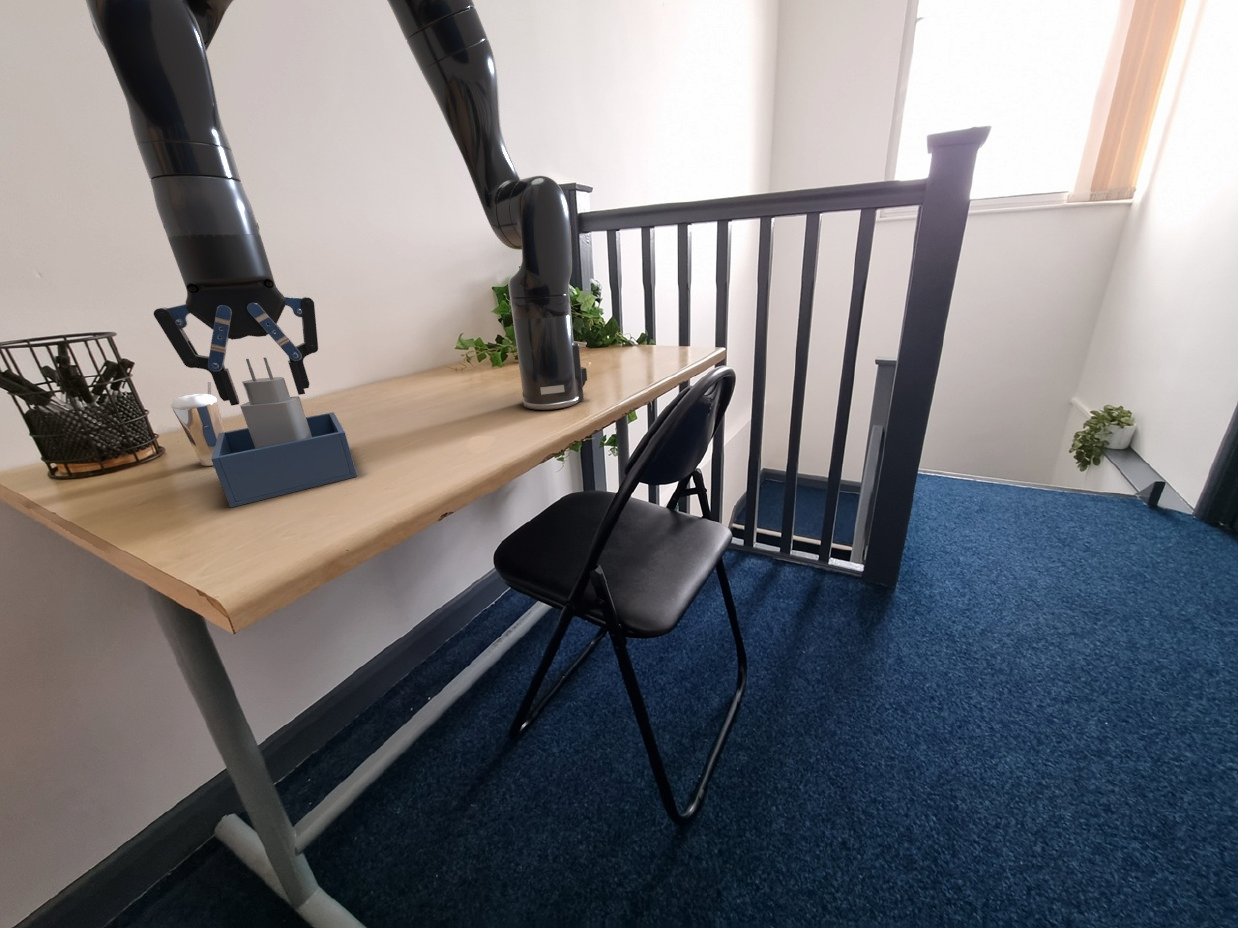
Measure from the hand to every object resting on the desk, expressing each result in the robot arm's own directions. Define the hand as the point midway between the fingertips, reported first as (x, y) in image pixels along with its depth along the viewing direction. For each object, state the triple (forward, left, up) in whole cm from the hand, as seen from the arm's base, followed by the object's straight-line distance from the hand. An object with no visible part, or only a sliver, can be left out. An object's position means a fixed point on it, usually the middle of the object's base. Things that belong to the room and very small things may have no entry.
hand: (269, 397), depth 56 cm
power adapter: (0, 0, -8) cm, 8 cm away
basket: (0, 0, -10) cm, 10 cm away
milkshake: (+8, -14, -10) cm, 19 cm away
